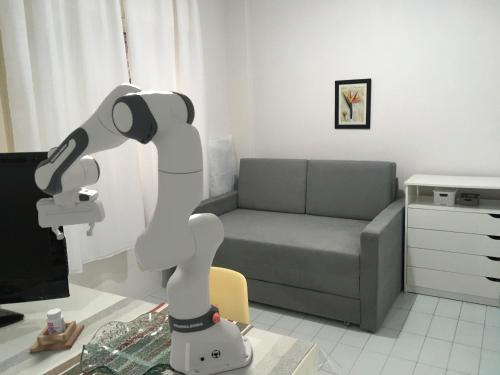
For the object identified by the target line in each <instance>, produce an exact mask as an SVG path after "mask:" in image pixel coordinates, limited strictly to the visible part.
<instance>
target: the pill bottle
mask: <svg viewBox="0 0 500 375" xmlns="http://www.w3.org/2000/svg"><path fill="white" fill-rule="evenodd" d="M46 317H47V318H46V326H48V331H49V335H52V334H62V333H64V332H65V330H66V328H65V323H64V322H65V316H64V314H63V313H62V309H61V308H58V307H57V308H52V309H49V310H48V311H46Z"/></svg>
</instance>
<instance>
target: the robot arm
mask: <svg viewBox="0 0 500 375" xmlns="http://www.w3.org/2000/svg"><path fill="white" fill-rule="evenodd" d="M195 111H196V110H195V106H194V104H193V102H192V100H191V98H190V97H188V96H187V95H186V94H184V93H181V92H178V91H156V90H148V91H143V90H142V89H141V88H140V87H139V86H136V85H134V84H131V83H122V84H119V85H117V86H116V87H115V88H113V89H112V91H110V92H109V93H108V94H107V96H106V97H105V98H104V99H103V100H102V101H101V103H100V105H99V106H98V107H97V109H96V110H95V111H94V112H93V114H92V115H90V116H89V118H88V119H87V120H86V121H84V123H82V124H81V125H80V126H78V127H77V128H75V129H74V130H73V131H71V133H69V134H68V135H67V137H65V139H64V140H63V141H62V142H61V143H60V144H59V145H58V146H54V147H51V148H50V149H49V150H48V152H47V159H44V160H42V161H40V162H39V164H37V166H36V168H35V170H34V173H33V174H34V175H33V177H34V183H35V185H36V187H37V188H38V189H39V190H40V191H42V192H43V193H45V194H47V195H49V196H52V197H48V198H40V199H39V200H37V202H36V210H37V212H38V217H37V218H38V225H39V226H40V227H41V229H42V228H51V231H52V232H53V233H54V234H55V235H56V239H57V240H63V239H64V238H65V236H64V232H61V231H60V230H59V228H60V227H63V226H74V225H84V224H88V227H89V229H88V230H87V231H86V237H93V235H94V232H93V230H94V228H95V226H96V223H101V222H103V221H104V220H105V218H106V213H105V208H104V205H103V202H102V201H101V199H100V198H99V196H100V195H99V191H97V190H94V189H88V188H87V187H90V186H92V185H95V184H97V182H99V179H100V176H101V168H100V165H99V163H98V161H97V160H96V159H95V158H94V157H93V156H91V155H92V154H96V153H99V152H103V151H107V150H112V149H115V148H118V147H120V146H122V145H123V144H125V142H127V141H128V140H129V139H131V140H134V141H137V142H138V143H140V144H142V145H147V144H149V143H150V142H151V143H153V145H154V146H155V148H156V151H157V200H156V204H155V208H154V211H153V214H152V216H151V218H150V221H149V222H148V223H147V225H146V227H145V228H144V229H143V231H141V233H140V234H139V235H138V236H137V238H136V240H135V243H134V255H135V258H136V260H137V262H138V264H140V266H141V267H143V269H145V270H146V271H148V272H157V271H158V272H159V271H164V270H169V269H171V268H173V267H176V268H175V271H174V273H173V274H172V275H171V276H170V278H169V279H168V281H167V283H166V287H165V288H166V297H167V303H168V304H167V305H168V313H167V322H168V323H167V324H168V328H169V333H170V335H171V344H170V345H171V346H170V347H171V349H170V356H169V365H170V367H171V368H172V369H174V370H175V371H178V372H179V373H181V374H182V373H183V374H184V375H214V374H215V375H216V374H218V373H223V372H226V371H231V370H232V371H233V370H236V369H239V368H244V367H247V366H248V365H249V363H250V362H251V360H252V356H253V350H252V344H251V342H250V340H249V339H248V338H247V337H246V336H245V335H242V333H241V331H240V328H239V327H238V325H237V324H236V323H234V322H233V321H230V320H228V319H226V318H223V317H222V316H221V314H220V308H218V306H219V305H218V304H217V303H216V304H215V305H213V303H211V295H210V272H211V268H212V265H213V261H214V258H215V256H216V252H217V251H218V249H219V247H220V246H221V244H222V243H223V241H224V239H225V227H224V224H223V222H222V221H221V219H220V218H219V216H217V215H216V214H214V213H211V212H209V213H208V212H207V213H206V212H204V213H203V212H202V213H194V214H192V213H193V212H195V210H196V208H197V207H198V206H199V205H200V204H201V202H202V200H203V198H204V156H203V155H204V153H203V147H202V141H201V136H200V135H201V134H200V132H199V130H198V128H196V126H194V125H193V122H194V120H195V117H196V112H195Z"/></svg>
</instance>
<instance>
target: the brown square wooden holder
mask: <svg viewBox="0 0 500 375" xmlns="http://www.w3.org/2000/svg"><path fill="white" fill-rule="evenodd" d="M64 323H65V328H66V330H65V332H64V333H62V334H52V335H49V331H48V326H47V325H46V326H45V327H44V329H42V330H41V332H40V333H39V334H38V335H37V337H36V339H37V340H36V341H35V342H34V343H33V344H32V346H31V347H30V348H29V353H36V352H44V351H45V352H47V351H54V350H63V349H71V348H72V347H73V346H74V344H75V343H76V341H77V340H78V338H79V336H80V335H81V334H82V332H83V330H84V329H85V324H77V322H76V320H69V321H64Z"/></svg>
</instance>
